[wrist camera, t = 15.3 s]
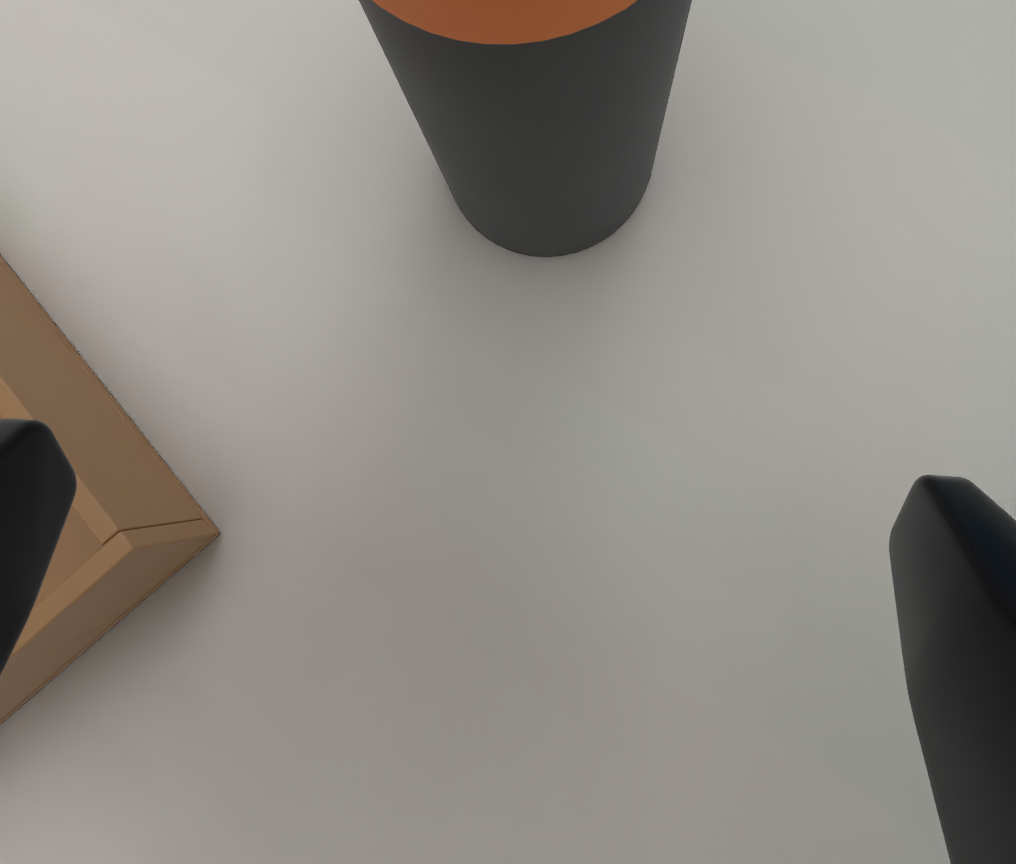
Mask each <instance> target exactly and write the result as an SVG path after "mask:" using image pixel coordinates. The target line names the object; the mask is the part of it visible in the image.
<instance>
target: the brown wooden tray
mask: <svg viewBox="0 0 1016 864" xmlns="http://www.w3.org/2000/svg"><path fill="white" fill-rule="evenodd" d="M8 418H13V419H30V420H38V421H42V422H43V423H45V424H46V425H48V426H49V428H50V429H51V430H52V432H53V434H54V435H55V437H56V439H57V441H58V443H59V444H60V446H61V448H62V450H63V451H64V453H65V455H66V457H67V458H68V460H69V462H70V464H71V466H72V467H73V469H74V471H75V474H76V478H77V489H76V494H75V497H74V500H73V503H72V505H71V508H70V511H69V513H68V516H67V519H66V521H65V524H64V527H63V529H62V532H61V535H60V538H59V540H58V543H57V546H56V548H55V551H54V554H53V556H52V559H51V562H50V564H49V567H48V570H47V572H46V575H45V578H44V580H43V583H42V586H41V588H40V591H39V594H38V596H37V599H36V601H35V604H34V606H33V609H32V611H31V613H30V616H29V618H28V620H27V622H26V625H25V627H24V629H23V631H22V633H21V635H20V637H19V639H18V641H17V643H16V645H15V647H14V649H13V651H12V653H11V655H10V657H9V659H8V661H7V663H6V665H5V667H4V669H3V671H2V673H1V675H0V724H1V723H2V722H4V721H5V720H6V719H7V718H8V717H9V716H11V715H12V714H13V713H14V712H15V711H16V710H17V709H19V708H20V707H21V706H22V705H23V704H24V703H25V702H27V701H28V700H29V699H30V698H31V697H32V696H34V695H35V694H36V693H37V692H38V691H39V690H40V689H42V688H43V687H44V686H45V685H46V684H47V683H49V682H50V681H51V680H52V679H53V678H54V677H55V676H57V675H58V674H59V673H60V672H61V671H62V670H64V669H65V668H66V667H67V666H68V665H69V664H70V663H72V662H73V661H74V660H75V659H76V658H77V657H79V656H80V655H81V654H82V653H83V652H84V651H85V650H87V649H88V648H89V647H90V646H91V645H92V644H94V643H95V642H96V641H97V640H98V639H99V638H100V637H102V636H103V635H104V634H105V633H106V632H107V631H109V630H110V629H111V628H112V627H113V626H114V625H115V624H117V623H118V622H119V621H120V620H121V619H122V618H124V617H125V616H126V615H127V614H128V613H129V612H130V611H132V610H133V609H134V608H135V607H136V606H137V605H139V604H140V603H141V602H142V601H143V600H144V599H145V598H147V597H148V596H149V595H150V594H151V593H152V592H154V591H155V590H156V589H157V588H158V587H159V586H160V585H162V584H163V583H164V582H165V581H166V580H167V579H169V578H170V577H171V576H172V575H173V574H174V573H175V572H177V571H178V570H179V569H180V568H181V567H182V566H184V565H185V564H186V563H187V562H188V561H189V560H190V559H192V558H193V557H194V556H195V555H196V554H197V553H199V552H200V551H201V550H202V549H203V548H204V547H205V546H207V545H208V544H209V543H210V542H211V541H212V540H213V539H215V538H216V537H217V536H218V535H219V534H220V531H219V530H218V529H217V528H216V526H215V525H214V524H213V523H212V521H211V520H210V519H209V518H208V516H207V515H206V514H205V513H204V511H203V510H202V509H201V508H200V506H199V505H198V504H197V502H196V501H195V500H194V499H193V497H192V496H191V495H190V494H189V492H188V491H187V490H186V489H185V487H184V486H183V485H182V484H181V482H180V481H179V480H178V478H177V477H176V476H175V475H174V473H173V472H172V471H171V470H170V468H169V467H168V466H167V465H166V463H165V462H164V461H163V460H162V458H161V457H160V456H159V455H158V453H157V452H156V451H155V449H154V448H153V447H152V446H151V444H150V443H149V442H148V441H147V439H146V438H145V437H144V436H143V434H142V433H141V432H140V431H139V429H138V428H137V427H136V425H135V424H134V423H133V422H132V420H131V419H130V418H129V417H128V415H127V414H126V413H125V412H124V410H123V409H122V408H121V407H120V405H119V404H118V403H117V402H116V400H115V399H114V398H113V396H112V395H111V394H110V393H109V391H108V390H107V389H106V388H105V386H104V385H103V384H102V383H101V381H100V380H99V379H98V378H97V376H96V375H95V374H94V372H93V371H92V370H91V369H90V367H89V366H88V365H87V364H86V362H85V361H84V360H83V359H82V357H81V356H80V355H79V354H78V352H77V351H76V350H75V349H74V347H73V346H72V345H71V343H70V342H69V341H68V340H67V338H66V337H65V336H64V335H63V333H62V332H61V331H60V330H59V328H58V327H57V326H56V325H55V323H54V322H53V321H52V319H51V318H50V317H49V316H48V314H47V313H46V312H45V311H44V309H43V308H42V307H41V306H40V304H39V303H38V302H37V301H36V299H35V298H34V297H33V296H32V294H31V293H30V292H29V290H28V289H27V288H26V287H25V285H24V284H23V283H22V282H21V280H20V279H19V278H18V277H17V275H16V274H15V273H14V272H13V270H12V269H11V268H10V267H9V265H8V264H7V263H6V261H5V260H4V259H3V258H2V256H1V255H0V420H2V419H8Z"/></svg>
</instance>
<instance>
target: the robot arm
mask: <svg viewBox="0 0 1016 864" xmlns="http://www.w3.org/2000/svg"><path fill="white" fill-rule="evenodd" d="M76 489H77V478H76V474H75V471H74V469H73V467H72V466H71V464H70V462H69V460H68V458H67V457H66V455H65V453H64V451H63V450H62V448H61V446H60V444H59V443H58V441H57V439H56V437H55V435H54V434H53V432H52V430H51V429H50V428H49V426H48V425H46V424H45V423H43V422H42V421H38V420H30V419H13V418H8V419H2V420H0V675H1V673H2V671H3V669H4V667H5V665H6V663H7V661H8V659H9V657H10V655H11V653H12V651H13V649H14V647H15V645H16V643H17V641H18V639H19V637H20V635H21V633H22V631H23V629H24V627H25V625H26V622H27V620H28V618H29V616H30V613H31V611H32V609H33V606H34V604H35V601H36V599H37V596H38V594H39V591H40V588H41V586H42V583H43V580H44V578H45V575H46V572H47V570H48V567H49V564H50V562H51V559H52V556H53V554H54V551H55V548H56V546H57V543H58V540H59V538H60V535H61V532H62V529H63V527H64V524H65V521H66V519H67V516H68V513H69V511H70V508H71V505H72V503H73V500H74V497H75V494H76ZM889 553H890V561H891V569H892V577H893V584H894V592H895V600H896V608H897V616H898V623H899V631H900V639H901V647H902V654H903V662H904V670H905V676H906V682H907V689H908V694H909V699H910V703H911V708H912V712H913V717H914V721H915V725H916V729H917V732H918V736H919V740H920V744H921V748H922V752H923V756H924V760H925V764H926V768H927V772H928V776H929V780H930V783H931V787H932V791H933V795H934V799H935V803H936V807H937V811H938V815H939V819H940V823H941V827H942V831H943V834H944V838H945V842H946V846H947V850H948V854H949V858H950V862H951V864H1016V520H1014V519H1013V518H1012V517H1011V516H1010V515H1009V514H1008V513H1007V512H1005V511H1004V510H1003V509H1002V508H1001V507H1000V506H999V505H997V504H996V503H995V502H994V501H993V500H992V499H991V498H989V497H988V496H987V495H986V494H985V493H984V492H983V491H981V490H980V489H979V488H978V487H977V486H976V485H975V484H973V483H972V482H971V481H969V480H967V479H965V478H962V477H952V476H936V475H925V476H921V477H919V478H918V479H917V480H916V481H915V482H914V484H913V486H912V487H911V490H910V492H909V494H908V496H907V498H906V500H905V502H904V504H903V506H902V509H901V511H900V513H899V515H898V517H897V519H896V521H895V523H894V525H893V528H892V530H891V534H890V541H889Z"/></svg>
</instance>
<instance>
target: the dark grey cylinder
mask: <svg viewBox="0 0 1016 864" xmlns="http://www.w3.org/2000/svg"><path fill="white" fill-rule="evenodd" d="M359 1H360V3H361V5H362V7H363V10H364V12H365V14H366V16H367V18H368V20H369V22H370V24H371V26H372V28H373V30H374V32H375V34H376V37H377V39H378V41H379V43H380V45H381V47H382V49H383V51H384V53H385V55H386V57H387V59H388V61H389V64H390V66H391V68H392V70H393V72H394V74H395V76H396V78H397V80H398V82H399V84H400V86H401V89H402V91H403V93H404V95H405V97H406V99H407V101H408V103H409V105H410V107H411V109H412V111H413V113H414V116H415V118H416V120H417V122H418V124H419V126H420V128H421V130H422V132H423V134H424V136H425V138H426V140H427V143H428V145H429V147H430V149H431V151H432V153H433V155H434V157H435V159H436V161H437V163H438V165H439V167H440V170H441V172H442V174H443V176H444V178H445V180H446V182H447V184H448V186H449V188H450V190H451V192H452V195H453V197H454V199H455V201H456V203H457V205H458V207H459V208H460V210H461V211H462V213H463V214H464V216H465V217H466V219H467V220H468V221H469V222H470V223H471V224H472V225H473V226H474V227H475V229H477V230H478V231H479V232H480V233H481V234H483V235H484V236H485V237H486V238H488V239H489V240H491V241H493V242H494V243H496V244H497V245H500V246H502V247H504V248H506V249H508V250H511V251H514V252H518V253H521V254H526V255H532V256H548V257H549V256H560V255H566V254H570V253H575V252H578V251H581V250H583V249H586V248H589V247H591V246H593V245H595V244H597V243H599V242H601V241H602V240H604V239H605V238H607V237H608V236H609V235H611V234H612V233H614V232H615V231H616V230H617V229H618V228H619V227H620V226H621V225H622V224H623V223H624V222H625V221H626V220H627V219H628V218H629V216H630V215H631V214H632V213H633V211H634V210H635V208H636V207H637V205H638V204H639V202H640V200H641V198H642V196H643V194H644V192H645V190H646V187H647V184H648V181H649V178H650V175H651V171H652V166H653V162H654V158H655V154H656V149H657V145H658V141H659V137H660V132H661V128H662V124H663V120H664V115H665V111H666V107H667V103H668V99H669V94H670V90H671V86H672V82H673V77H674V73H675V69H676V65H677V60H678V56H679V52H680V48H681V43H682V39H683V35H684V31H685V27H686V22H687V18H688V14H689V10H690V5H691V1H692V0H359Z"/></svg>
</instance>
